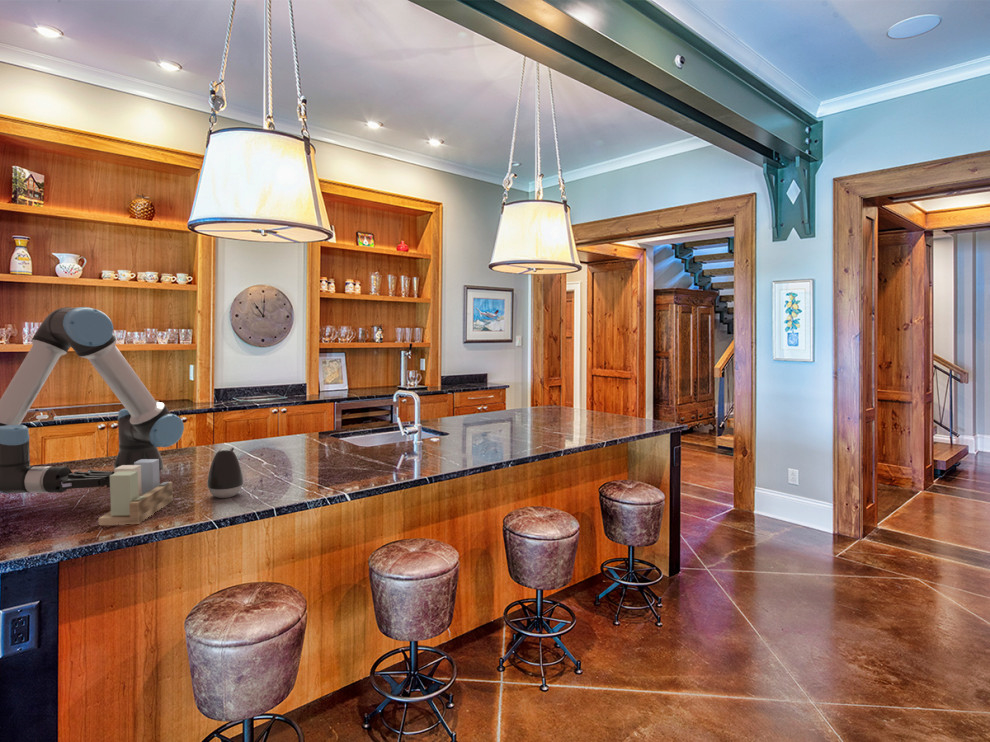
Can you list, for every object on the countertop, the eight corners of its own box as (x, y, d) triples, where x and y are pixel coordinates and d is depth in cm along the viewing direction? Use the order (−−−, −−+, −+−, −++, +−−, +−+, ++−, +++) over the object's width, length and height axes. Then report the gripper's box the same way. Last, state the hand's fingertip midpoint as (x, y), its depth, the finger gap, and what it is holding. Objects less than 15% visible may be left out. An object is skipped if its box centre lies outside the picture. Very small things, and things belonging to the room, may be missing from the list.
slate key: (142, 495, 165) (141, 459, 164) (159, 494, 165) (158, 459, 164) (135, 499, 161) (134, 462, 160) (153, 499, 161) (152, 462, 160)
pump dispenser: (249, 490, 179) (248, 445, 177) (234, 500, 168) (234, 452, 167) (217, 490, 178) (216, 444, 177) (201, 500, 168) (200, 451, 167)
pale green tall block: (119, 510, 151) (118, 471, 150) (138, 510, 151) (137, 471, 151) (111, 515, 147) (109, 475, 146) (130, 515, 148) (129, 475, 147)
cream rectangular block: (123, 502, 158) (122, 465, 157) (142, 502, 158) (140, 465, 157) (115, 507, 154) (114, 468, 153) (134, 506, 154) (133, 468, 153)
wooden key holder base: (138, 501, 166) (137, 480, 165) (172, 501, 167) (172, 480, 166) (98, 525, 146) (97, 502, 145) (138, 524, 147) (137, 501, 146)
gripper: (65, 485, 166) (148, 485, 169) (34, 499, 153) (124, 498, 156) (64, 461, 165) (147, 461, 168) (33, 472, 152) (123, 472, 155)
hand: (136, 478), depth 162 cm, fingers closed
